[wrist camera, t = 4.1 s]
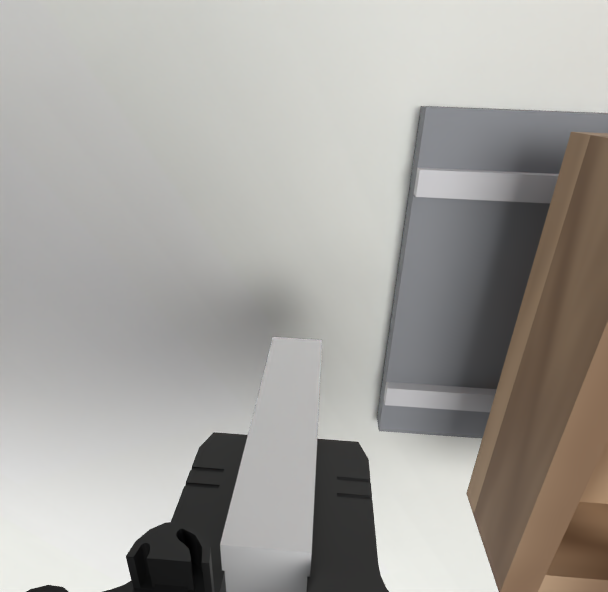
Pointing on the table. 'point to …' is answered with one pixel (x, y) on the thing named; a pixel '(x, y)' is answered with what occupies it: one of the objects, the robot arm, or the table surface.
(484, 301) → the track
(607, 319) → the tray
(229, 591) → the robot arm
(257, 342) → the table surface
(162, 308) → the table surface
